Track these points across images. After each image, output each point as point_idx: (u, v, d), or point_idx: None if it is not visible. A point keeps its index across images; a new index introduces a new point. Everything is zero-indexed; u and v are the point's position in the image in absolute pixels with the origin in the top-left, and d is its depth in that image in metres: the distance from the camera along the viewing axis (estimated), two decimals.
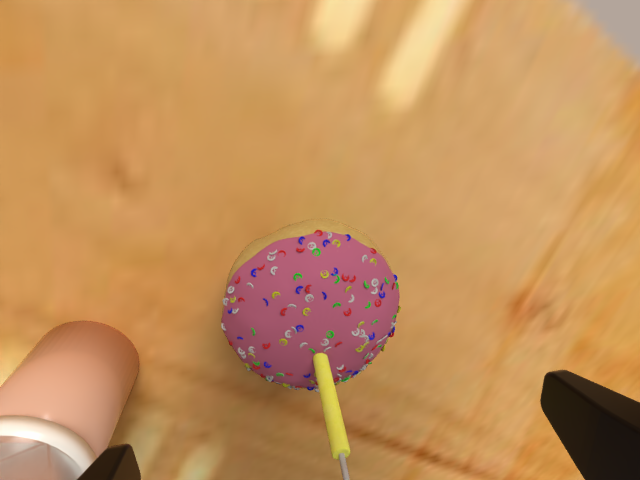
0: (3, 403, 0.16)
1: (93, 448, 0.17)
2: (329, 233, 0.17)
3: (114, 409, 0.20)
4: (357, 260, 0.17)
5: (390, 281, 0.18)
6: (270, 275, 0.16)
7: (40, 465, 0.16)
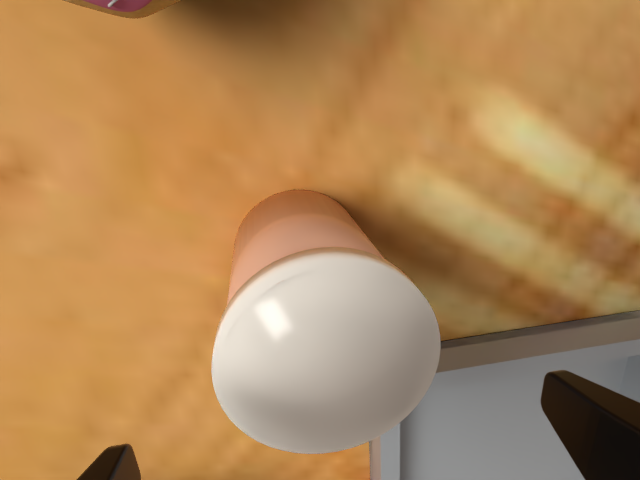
0: None
1: None
2: None
3: (307, 220, 0.13)
4: None
5: None
6: None
7: (289, 324, 0.10)
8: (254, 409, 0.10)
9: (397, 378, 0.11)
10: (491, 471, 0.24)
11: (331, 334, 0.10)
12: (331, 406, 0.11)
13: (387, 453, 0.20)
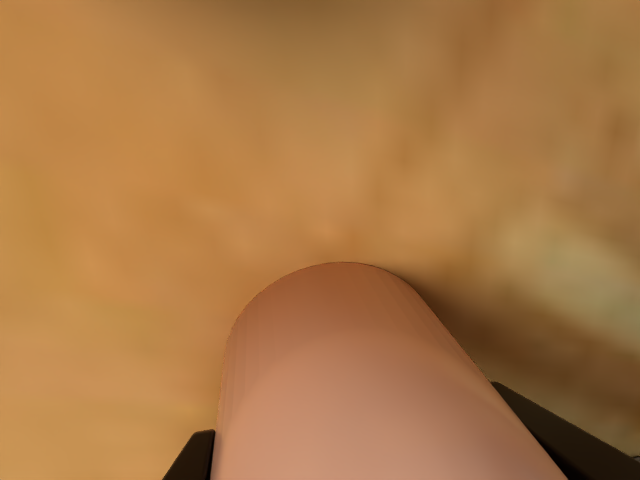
0: None
1: None
2: None
3: (388, 390, 0.05)
4: None
5: None
6: None
7: None
8: None
9: None
10: None
11: None
12: None
13: None
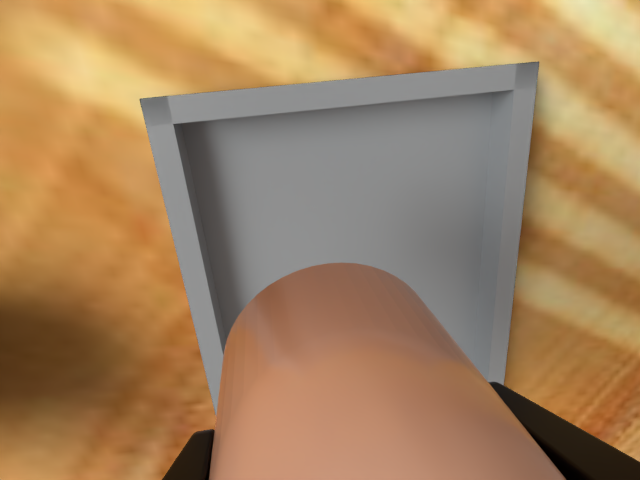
0: None
1: None
2: None
3: (387, 390, 0.05)
4: None
5: None
6: None
7: None
8: None
9: None
10: None
11: None
12: None
13: (176, 212, 0.16)
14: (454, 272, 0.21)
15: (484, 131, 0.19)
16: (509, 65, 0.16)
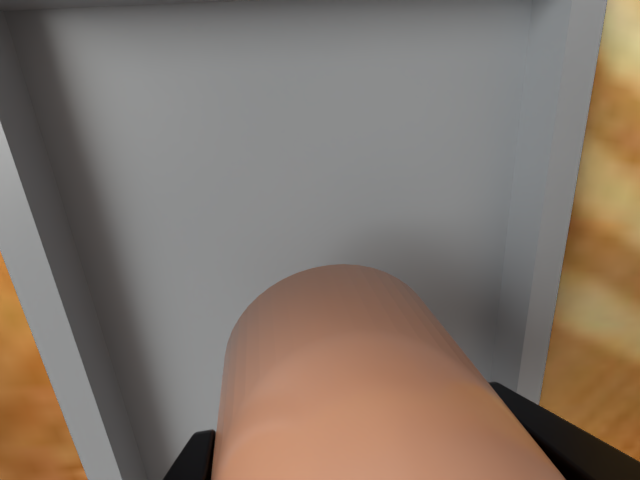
0: None
1: None
2: None
3: (388, 393, 0.05)
4: None
5: None
6: None
7: None
8: None
9: None
10: None
11: None
12: None
13: None
14: (464, 281, 0.14)
15: (517, 60, 0.12)
16: None
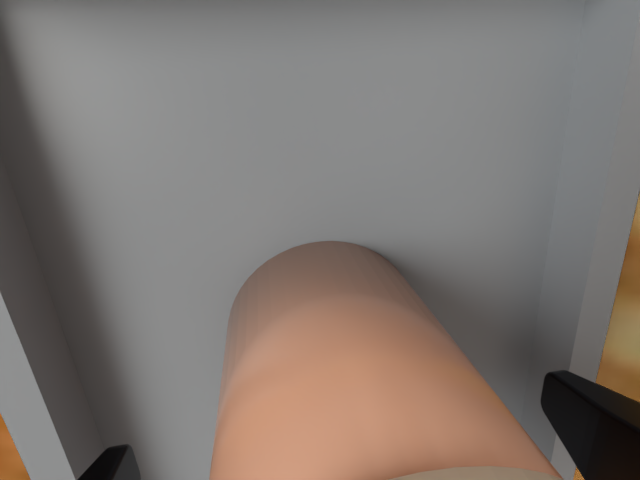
0: None
1: (390, 460, 0.04)
2: None
3: (358, 329, 0.07)
4: None
5: None
6: None
7: None
8: None
9: None
10: None
11: None
12: None
13: None
14: (496, 307, 0.13)
15: (567, 51, 0.10)
16: None
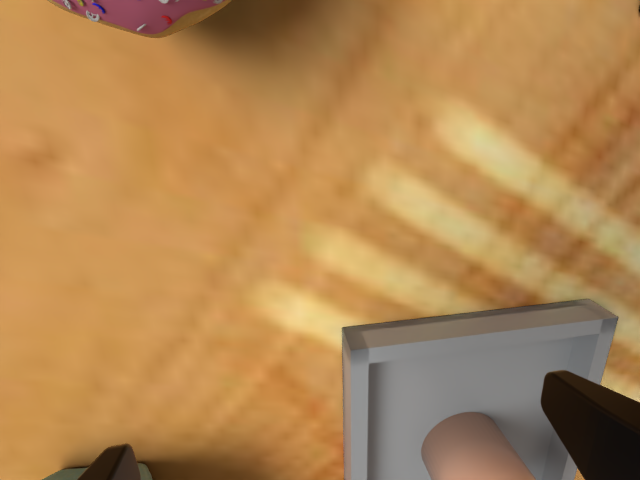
0: None
1: None
2: None
3: (503, 469, 0.22)
4: None
5: None
6: None
7: None
8: None
9: None
10: None
11: None
12: None
13: (356, 415, 0.23)
14: (533, 433, 0.28)
15: (568, 344, 0.25)
16: (598, 320, 0.23)
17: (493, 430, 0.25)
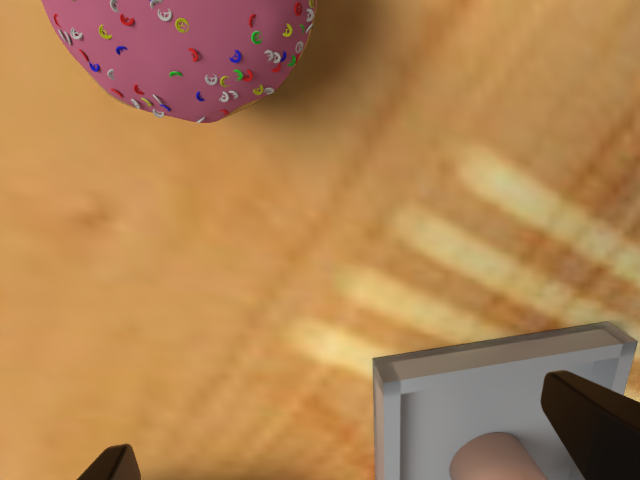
0: None
1: None
2: None
3: None
4: None
5: None
6: (85, 40, 0.11)
7: None
8: None
9: None
10: None
11: None
12: None
13: (389, 441, 0.24)
14: (556, 449, 0.29)
15: (589, 365, 0.26)
16: (618, 344, 0.24)
17: (519, 451, 0.26)
